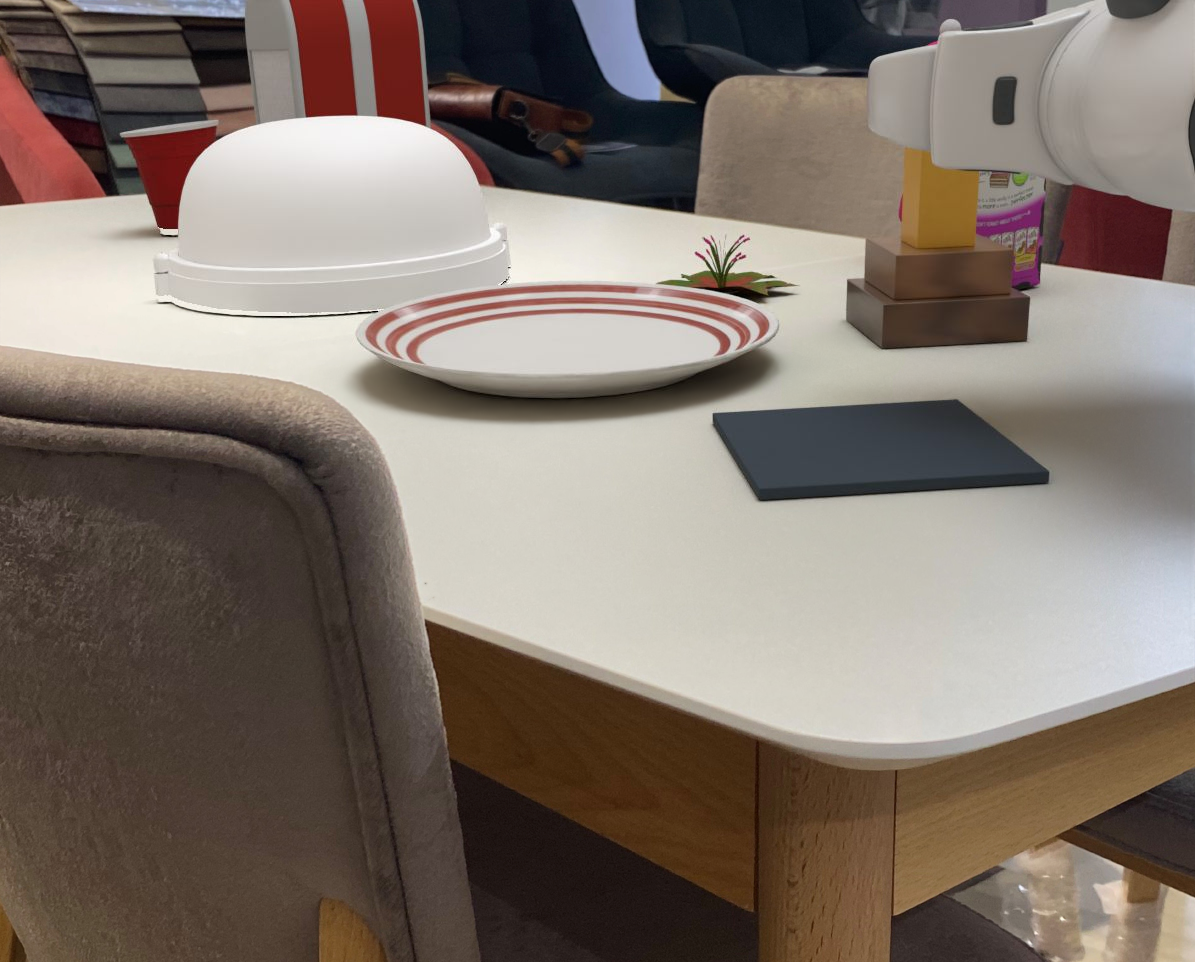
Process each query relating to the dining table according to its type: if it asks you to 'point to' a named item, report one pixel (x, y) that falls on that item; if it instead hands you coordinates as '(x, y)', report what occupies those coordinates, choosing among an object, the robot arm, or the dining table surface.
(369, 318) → the dinner plate
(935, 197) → the bar
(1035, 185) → the candy bar box
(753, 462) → the mat
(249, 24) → the red striped carton
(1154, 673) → the dining table surface
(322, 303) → the dome cover
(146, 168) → the plastic cup
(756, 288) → the lily flower
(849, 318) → the stepped bronze pedestal
